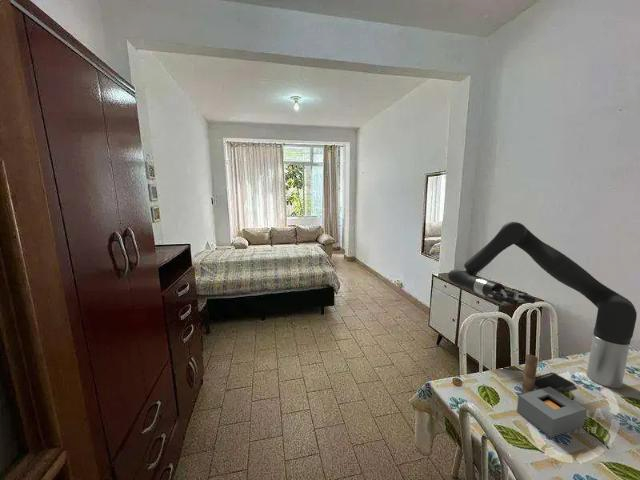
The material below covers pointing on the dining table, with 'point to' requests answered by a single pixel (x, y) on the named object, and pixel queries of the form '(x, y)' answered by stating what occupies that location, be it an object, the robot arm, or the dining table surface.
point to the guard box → (551, 411)
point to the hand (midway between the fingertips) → (526, 302)
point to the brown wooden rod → (529, 373)
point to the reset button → (551, 404)
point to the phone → (553, 382)
